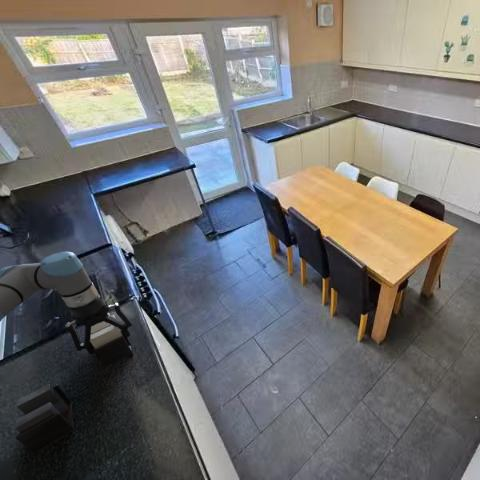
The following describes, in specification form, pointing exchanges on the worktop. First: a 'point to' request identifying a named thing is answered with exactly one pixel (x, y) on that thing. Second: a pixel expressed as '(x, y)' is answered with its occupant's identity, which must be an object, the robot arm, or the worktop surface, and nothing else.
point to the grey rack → (44, 417)
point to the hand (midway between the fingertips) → (115, 350)
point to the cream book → (105, 336)
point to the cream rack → (111, 346)
